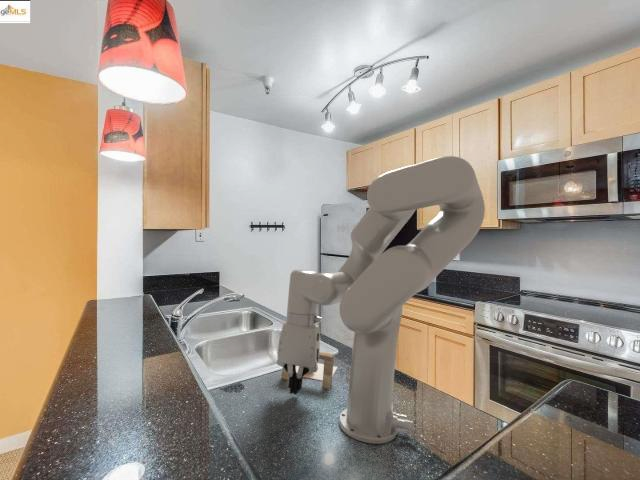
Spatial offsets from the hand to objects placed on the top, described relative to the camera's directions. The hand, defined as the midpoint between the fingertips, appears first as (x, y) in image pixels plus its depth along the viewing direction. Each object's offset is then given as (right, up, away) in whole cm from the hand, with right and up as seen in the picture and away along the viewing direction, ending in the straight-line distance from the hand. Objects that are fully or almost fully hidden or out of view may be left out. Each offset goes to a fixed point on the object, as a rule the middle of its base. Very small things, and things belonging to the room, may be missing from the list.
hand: (294, 391), depth 77 cm
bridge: (+2, -2, +10) cm, 10 cm away
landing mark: (+5, -2, +18) cm, 19 cm away
